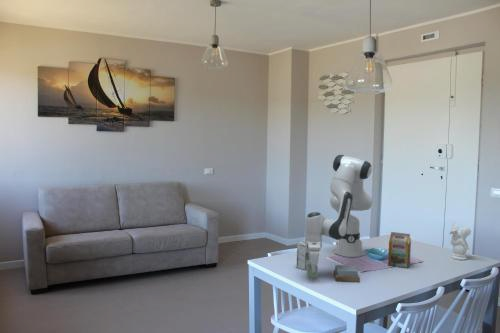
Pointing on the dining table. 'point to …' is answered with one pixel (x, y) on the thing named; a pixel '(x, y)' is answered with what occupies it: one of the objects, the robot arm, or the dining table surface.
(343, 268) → the grey top slab
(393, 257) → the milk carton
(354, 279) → the walnut base slab
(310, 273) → the sage block
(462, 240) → the white squirrel figurine
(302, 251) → the syrup box
